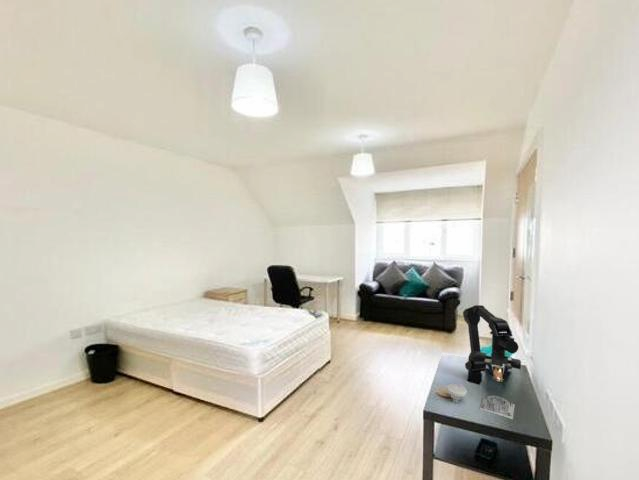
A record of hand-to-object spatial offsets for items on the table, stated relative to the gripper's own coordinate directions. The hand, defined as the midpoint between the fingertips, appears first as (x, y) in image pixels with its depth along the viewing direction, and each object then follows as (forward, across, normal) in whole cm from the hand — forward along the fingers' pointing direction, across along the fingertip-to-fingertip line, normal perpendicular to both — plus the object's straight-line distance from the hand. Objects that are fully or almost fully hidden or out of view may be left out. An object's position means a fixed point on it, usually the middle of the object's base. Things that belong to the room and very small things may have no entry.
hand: (497, 377), depth 156 cm
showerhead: (+12, -17, -12) cm, 24 cm away
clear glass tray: (+12, +1, -7) cm, 13 cm away
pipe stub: (+1, 0, 0) cm, 1 cm away
